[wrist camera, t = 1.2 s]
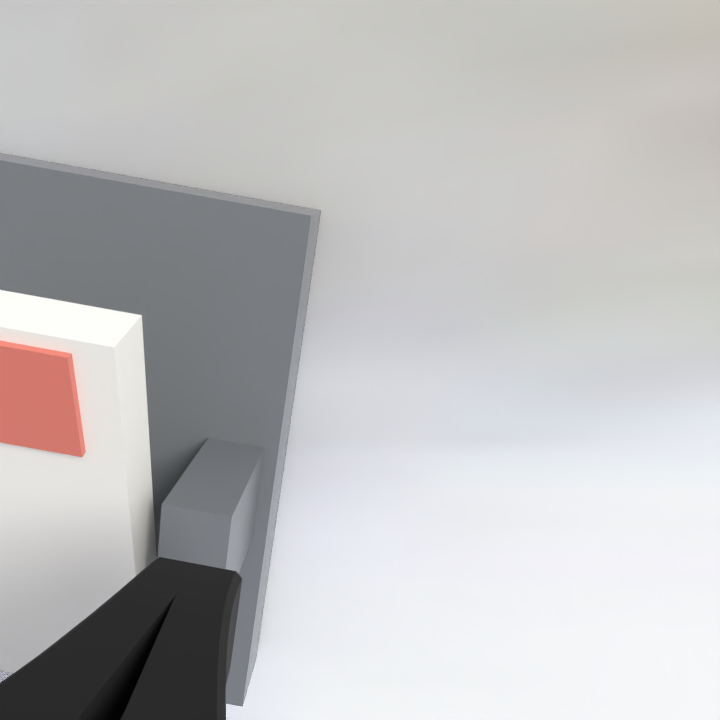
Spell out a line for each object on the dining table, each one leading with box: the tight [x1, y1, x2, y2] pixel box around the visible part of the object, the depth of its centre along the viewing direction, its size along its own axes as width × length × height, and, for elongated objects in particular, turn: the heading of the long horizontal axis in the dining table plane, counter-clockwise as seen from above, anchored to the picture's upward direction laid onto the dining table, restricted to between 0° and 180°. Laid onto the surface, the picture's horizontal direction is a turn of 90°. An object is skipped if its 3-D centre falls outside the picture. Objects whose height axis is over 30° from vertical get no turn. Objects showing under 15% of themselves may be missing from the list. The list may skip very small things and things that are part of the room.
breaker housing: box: [0, 153, 321, 706], centre depth 16 cm, size 16×11×6 cm
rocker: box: [0, 290, 157, 673], centre depth 14 cm, size 12×6×1 cm, turn 170°
